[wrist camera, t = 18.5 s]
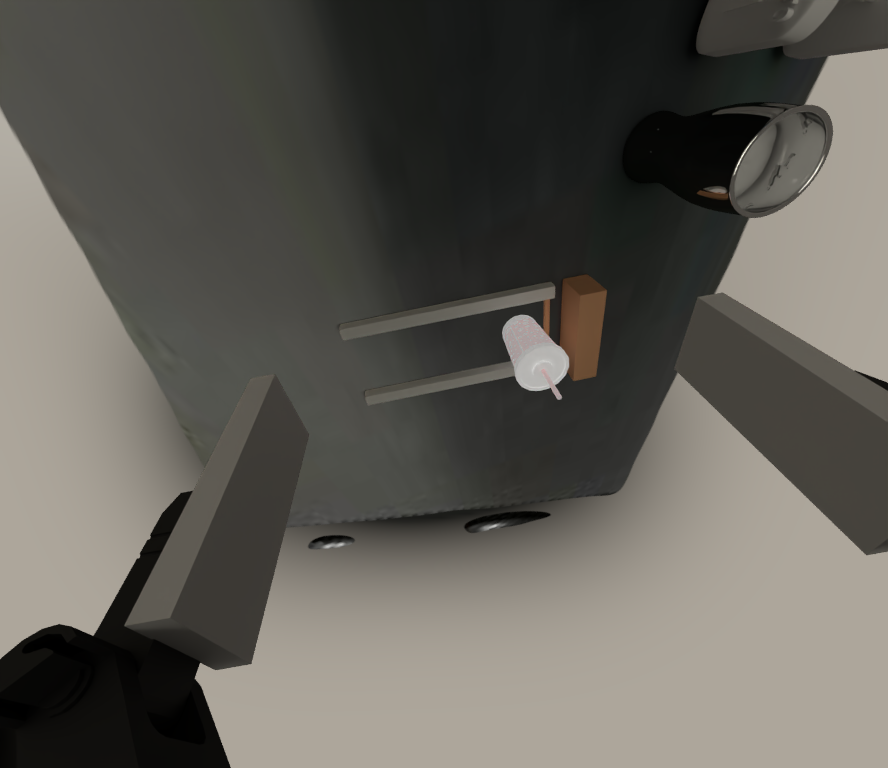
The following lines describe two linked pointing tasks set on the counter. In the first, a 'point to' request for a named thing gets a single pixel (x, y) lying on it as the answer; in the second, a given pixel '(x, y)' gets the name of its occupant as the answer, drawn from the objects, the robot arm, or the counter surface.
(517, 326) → the beverage cup
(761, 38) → the cable organizer
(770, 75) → the counter surface
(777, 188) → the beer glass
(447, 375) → the channel
